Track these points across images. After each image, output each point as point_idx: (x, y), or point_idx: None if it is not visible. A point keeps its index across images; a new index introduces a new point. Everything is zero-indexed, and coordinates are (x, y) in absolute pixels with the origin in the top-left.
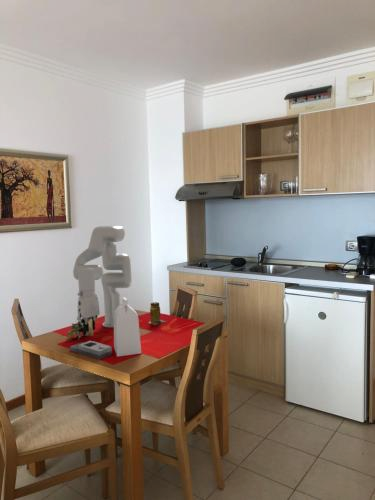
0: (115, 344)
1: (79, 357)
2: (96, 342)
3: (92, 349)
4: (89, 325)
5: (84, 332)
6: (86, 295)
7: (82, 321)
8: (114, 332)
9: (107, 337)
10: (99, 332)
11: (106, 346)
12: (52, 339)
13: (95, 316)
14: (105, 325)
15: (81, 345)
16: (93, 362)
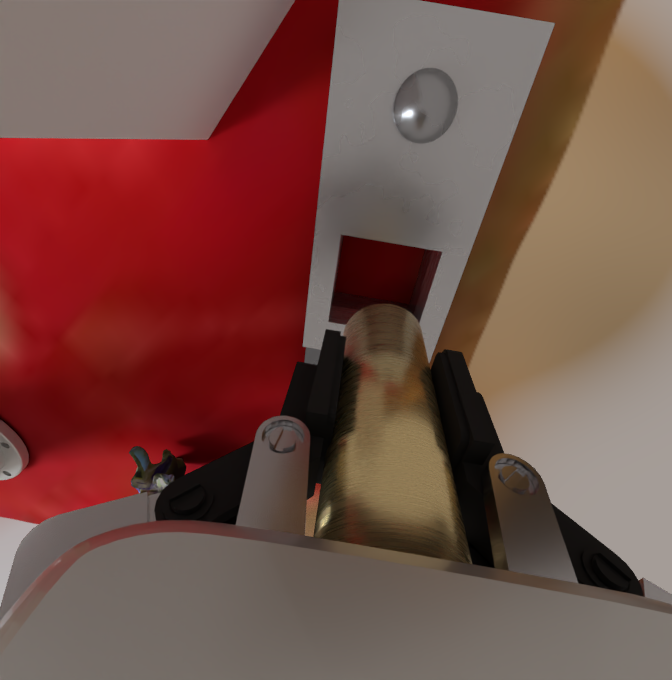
0: (246, 9)
1: (499, 271)
2: (313, 272)
3: (498, 172)
4: (429, 408)
5: (178, 472)
6: None
7: (606, 553)
8: (125, 70)
9: (105, 344)
10: (95, 427)
11: (367, 67)
12: (308, 531)
13: (218, 512)
14: (17, 451)
15: (428, 339)
16: (603, 50)
